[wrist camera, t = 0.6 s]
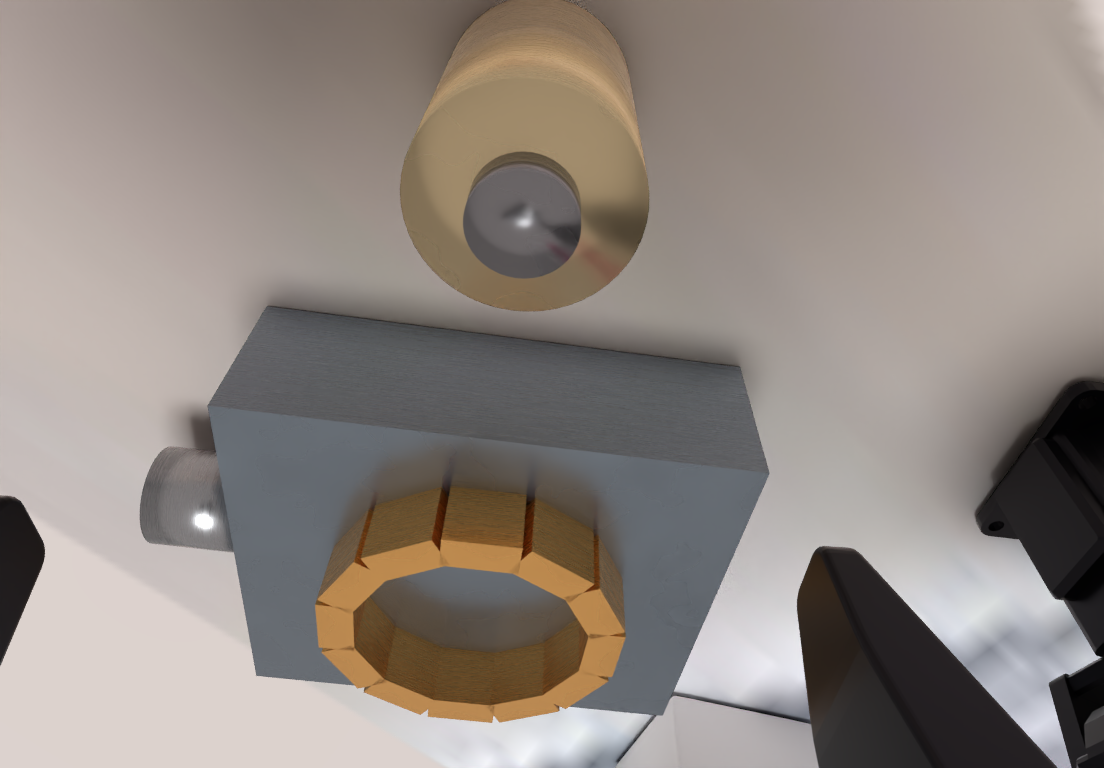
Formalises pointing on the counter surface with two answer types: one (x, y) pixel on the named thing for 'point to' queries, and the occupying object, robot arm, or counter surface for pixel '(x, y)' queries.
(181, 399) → the counter surface
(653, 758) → the milk carton
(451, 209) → the beige cylinder
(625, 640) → the gearbox
